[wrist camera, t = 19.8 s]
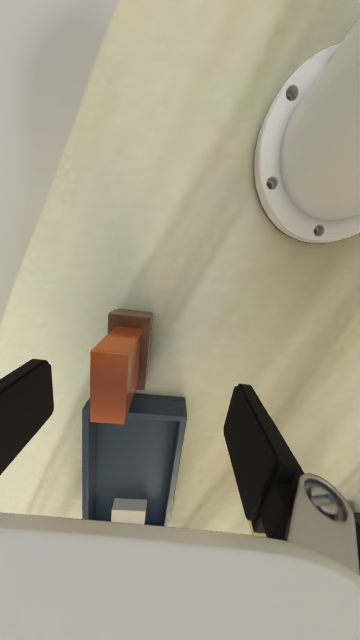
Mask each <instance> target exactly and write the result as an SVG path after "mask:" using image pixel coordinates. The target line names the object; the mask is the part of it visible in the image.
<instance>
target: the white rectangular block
mask: <svg viewBox="0 0 360 640" xmlns="http://www.w3.org/2000/svg"><path fill="white" fill-rule="evenodd" d="M146 506H147V500H145V499H123V498H115V499H114V503H113V507H112V514H111V522H120V523H132V524H143V525H144V523H145V515H146Z"/></svg>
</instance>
